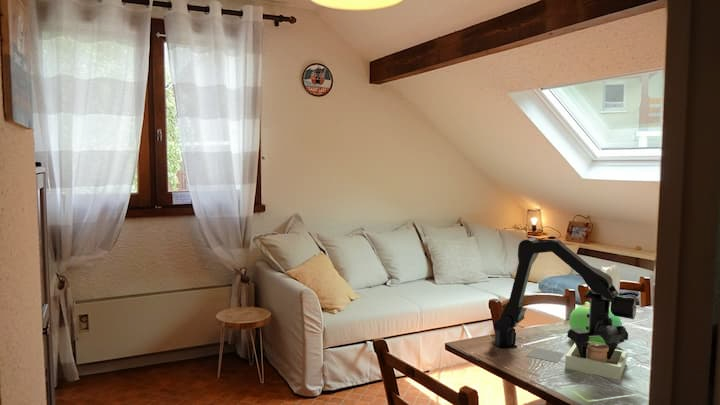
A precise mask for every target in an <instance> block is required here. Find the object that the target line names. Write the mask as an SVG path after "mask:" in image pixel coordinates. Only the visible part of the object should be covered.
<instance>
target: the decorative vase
mask: <svg viewBox="0 0 720 405" xmlns="http://www.w3.org/2000/svg"><path fill="white" fill-rule="evenodd" d="M598 267H599V268H598V269H599V270H601V271H603V272H604V273H606V274H608V275H609V276H610V277H611V278H612V282H613V286H614V287H615V289H616V290H617V292H618V293H619V294H620V288H621V287H620V286H621V285H620V284H621V276H620V275H621V274H620V270H619V266H618V264H617V265H616V264H611V266H606V267H605V266H603V265H602V264H601V265H600V266H598ZM610 307H611V302H610ZM619 318H620V319H621V317H619Z"/></svg>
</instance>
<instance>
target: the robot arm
mask: <svg viewBox="0 0 720 405" xmlns="http://www.w3.org/2000/svg"><path fill="white" fill-rule="evenodd" d="M540 253H541V254H543V253H553V254H554V255H555V256H557V258H559V259H560V260H562V262H564V263H565V264H566V265H567V266H568V267H570V268H571V269H572V270H573V271H574V272H576V273H577V274H578V275H579V276H580V277H581V278H582V280H583V281H584V283H585V284H586V285H587V287H589V289H590V290H588V292H587V293H585V294H584V295H583V298H585V299H590V302H589V303H590V314H587V317H588V318H589V326H586V329H587V330H589V332H585V331H583V330H581V329H579V328H578V329H571V328H570V329H568V331H567V336H566V337H567V338H568V339H570V340H571V341H573V342H574V343H575V344H576V346H577V348H578V351H579V353H580V356H581V358H585V359H586V349H587V346H588V345H589V343H588V342H587V341H588V340H589V338H592V337H602V338H603V339H604V341H605V342H606V345H608V346H609V351H608V352H607V359H609V360H610V359H611V357H612V355H613V353H614V350H615V349H617V347H618V346H619V345H620V344H622V343H625V341H627V340H629V332H628V331H627V330H626V327H625V326H624V325H622V326H613V325H612V320H611V319H612V318H610V317H609V308H610V302H611V309H610V310H611V312H612V314H614V316H618V317H620V318H624V319H629V320H635V318H636V315H637V302H636V297H635V296H625V295H620V292H619V293H618V292H617V290H616V289H615V287H614V286H613V282H612V278H611V277H610V276H609V275H608V274H606V273H604V272H603V271H601V270H599V268H596V267H593V266H592V265H590V264H589V263H588V262H587V261H585V260H584V259H582V258H581V257H580V255H578V254H576V253H575V252H574V251H573V250H572V249H570V247H568V246H566V245H565V244H564V243H563V241H561V239H558V238H554V239H537V238H535V237H529V238H527V239H523V240H522V241H520V242H519V243H518V248H517V259H518V265H517V268H516V272H515V276H514V280H513V284H512V287H511V292H510V296H509V299H508V301H507V303H506V305H505V307H504V309H502V312H501V313H500V314H501V315H500V316H499V319H498V320H496V321H495V322H494V323H493V328H494V331H495V332H494V341H492V342H491V343H492V344H493V345H495V346H496V347H498V348H499V349H502V350H504V349H514V348H515V349H516V348H518V344H517V342H516V341H517V333H516V329H515V328H516V327H517V325H518V324H520V323H521V322H522V321H523V320H525V314H526V311H527V307H526V308H525V307H524V306H523V300H524V297H525V293H526V288H527V285H528V281H529V277H530V274H531V270H532V266H533V264H534V262H535V261H536V259H537V257H538V256H539V254H540ZM516 344H517V345H516Z"/></svg>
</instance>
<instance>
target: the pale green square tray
mask: <svg viewBox="0 0 720 405" xmlns="http://www.w3.org/2000/svg"><path fill="white" fill-rule="evenodd" d="M627 355H628V351H625V350H621V349H617V348H616V349H615V350H614V353H613V355H612V357H611V359H610V360H609V359H607V361H606V363H605V362H600V361H595V360H590V359H585V358H581V356H580V353H579V351H578V348H577V346H576V344H575V342H574V343H573V345H572V346H571V348H570V349H569V350H568V351H567V353H566V354H565V358H564V359H565V361H564V362H565V363H564V369H567V370H573V371H577V372H581V373H586V374H590V375H595V376H601V377H604V378H608V379H614V380H619V381H620V380H621V378H622V375H623V372H624V370H625V368H626V365H627V357H628V356H627ZM586 356H587V349H586Z"/></svg>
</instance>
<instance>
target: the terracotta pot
mask: <svg viewBox="0 0 720 405" xmlns="http://www.w3.org/2000/svg"><path fill="white" fill-rule="evenodd" d="M588 343H589V345H588V346H587V356H586V359H590V360H595V361H600V362H605V363H606V361H607V352H608V351H609V346H608V345H606V344H604V343H600V342H588Z"/></svg>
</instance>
